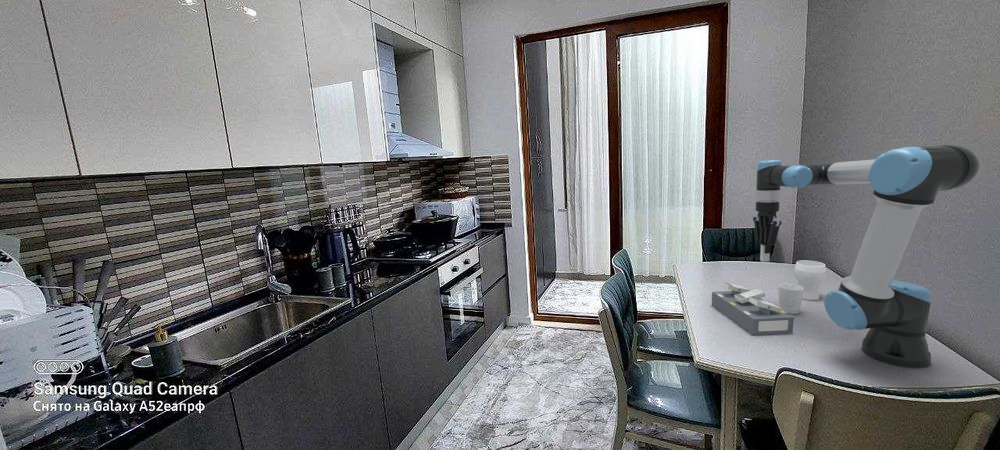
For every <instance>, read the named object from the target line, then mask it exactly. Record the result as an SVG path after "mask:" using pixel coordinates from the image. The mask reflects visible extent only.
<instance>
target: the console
mask: <svg viewBox="0 0 1000 450" xmlns="http://www.w3.org/2000/svg"><path fill="white" fill-rule="evenodd" d="M741 293H742V292H737V291H733V290H723V291H721V290H719V291H718V290H717V291H711V307H713V308H714V309H716V310H717V311H719V313H721V314H723V315H724V316H725V317H727V318H728V319H730V320H731V321H732V322H734V323H735V324H737V325H738V326H739V327H740V328H742V329H743V330H745V331H746V332H747V333H749V334H750V335H751V336H763V335H765V336H766V335H782V334H783V335H785V334H786V335H787V334H793V333H794V332H793V330H794V321H795V318H794V316H793V315H792V314H789V313H786V312H784V311H782V310H781V311H780V313H779V312H776V311H773V310H769V309H766V308H762V307H759V306H756V305H754V304H753V303H751V302H749V301H748V302H745V303H740V302H739V301H737V300H736V299H735V296H734V295H738V294H741ZM758 300H762V301H765V302H767V301H766V300H764V299H762V298H758Z"/></svg>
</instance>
